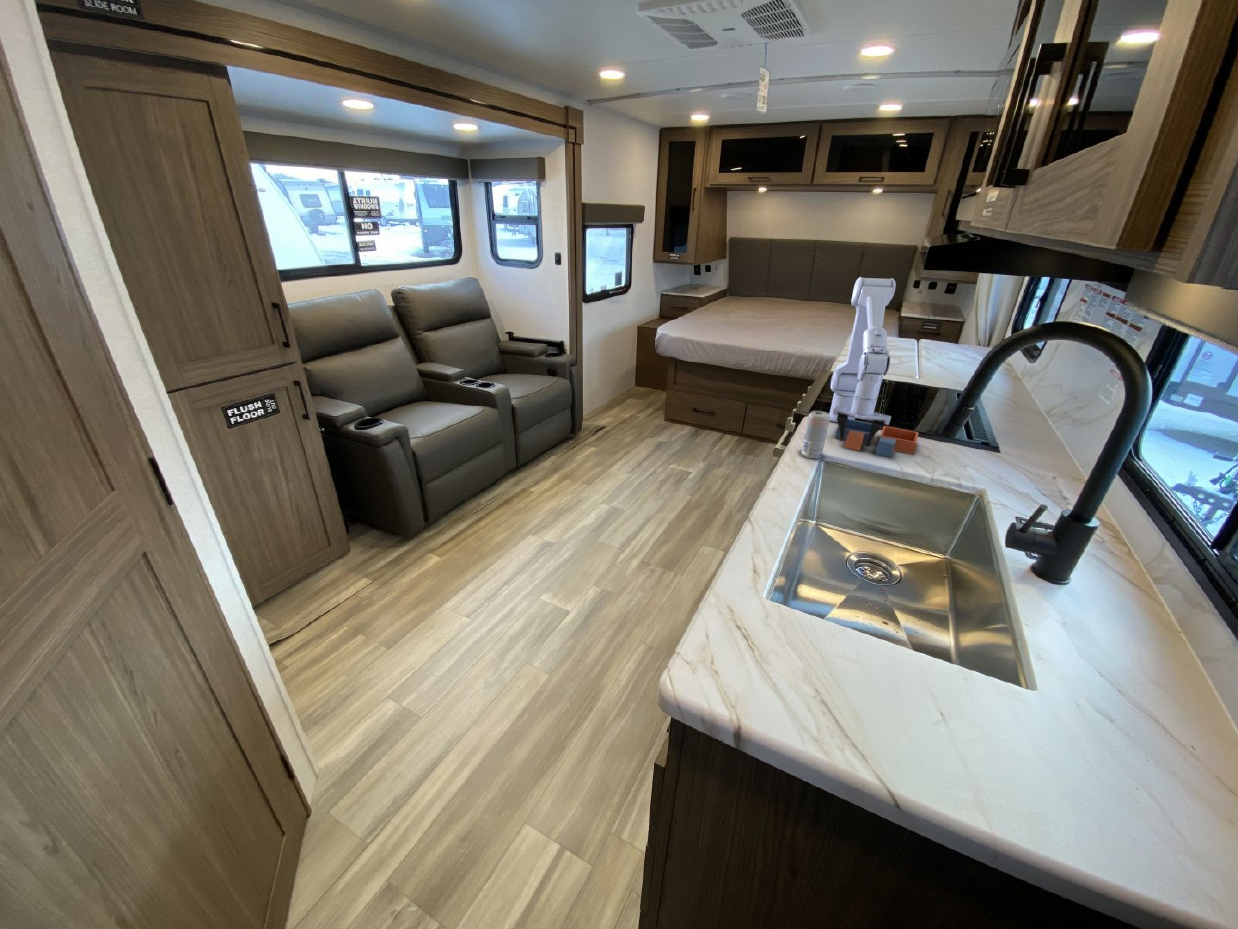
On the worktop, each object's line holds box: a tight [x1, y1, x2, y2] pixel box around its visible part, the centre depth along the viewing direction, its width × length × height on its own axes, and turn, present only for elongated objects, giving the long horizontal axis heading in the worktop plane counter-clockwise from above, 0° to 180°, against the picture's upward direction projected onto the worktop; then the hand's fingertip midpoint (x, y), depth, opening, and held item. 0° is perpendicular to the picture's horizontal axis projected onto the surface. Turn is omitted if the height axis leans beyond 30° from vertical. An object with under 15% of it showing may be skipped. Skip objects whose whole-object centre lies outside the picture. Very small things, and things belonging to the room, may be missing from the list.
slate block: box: [874, 436, 896, 458], centre depth 137 cm, size 4×4×4 cm
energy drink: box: [800, 410, 831, 460], centre depth 133 cm, size 5×5×12 cm
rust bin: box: [879, 425, 919, 455], centre depth 142 cm, size 9×9×4 cm
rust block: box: [844, 430, 865, 452], centre depth 140 cm, size 4×4×4 cm
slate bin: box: [834, 419, 873, 445], centre depth 147 cm, size 9×9×4 cm
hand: (854, 442), depth 141 cm, fingers open, 6 cm apart
